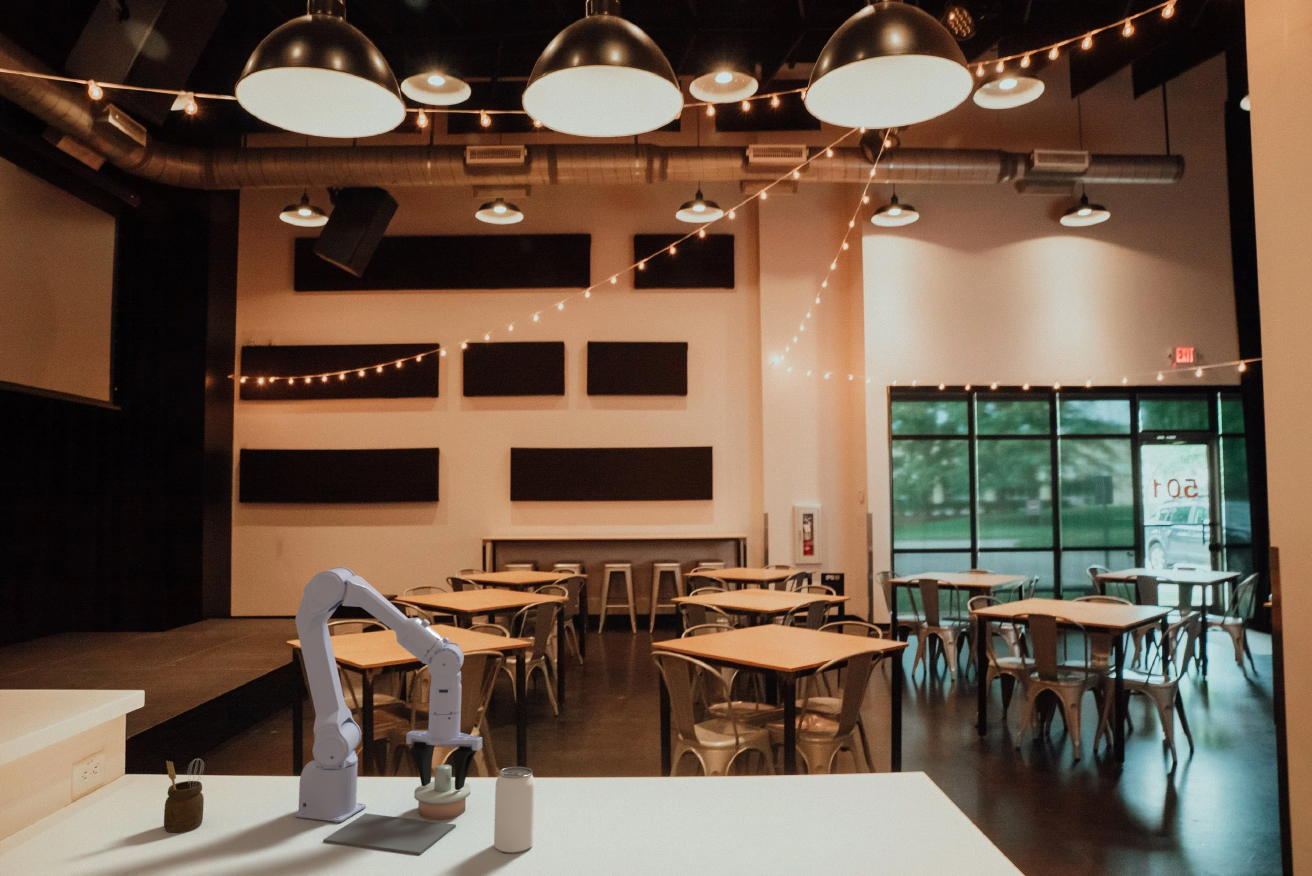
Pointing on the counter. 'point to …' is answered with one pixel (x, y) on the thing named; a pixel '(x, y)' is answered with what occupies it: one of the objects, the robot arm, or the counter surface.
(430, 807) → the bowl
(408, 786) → the counter surface
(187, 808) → the utensil holder
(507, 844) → the can
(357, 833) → the mat
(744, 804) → the counter surface
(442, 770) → the lid
